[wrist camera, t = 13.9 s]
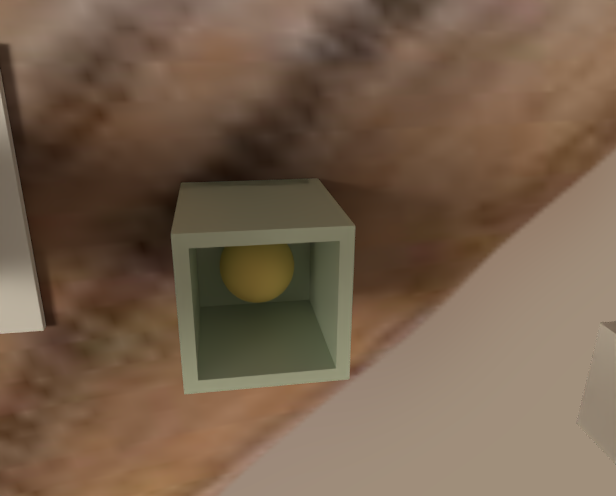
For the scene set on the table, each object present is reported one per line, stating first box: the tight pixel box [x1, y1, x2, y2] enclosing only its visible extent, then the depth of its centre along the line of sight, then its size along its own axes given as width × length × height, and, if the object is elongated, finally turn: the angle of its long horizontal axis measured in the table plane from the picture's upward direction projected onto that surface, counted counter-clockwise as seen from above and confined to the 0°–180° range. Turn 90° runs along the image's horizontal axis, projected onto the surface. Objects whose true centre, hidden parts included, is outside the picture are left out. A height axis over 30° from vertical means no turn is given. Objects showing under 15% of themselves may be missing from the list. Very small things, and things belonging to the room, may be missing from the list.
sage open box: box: [171, 178, 355, 394], centre depth 26 cm, size 7×7×8 cm
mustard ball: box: [220, 244, 294, 303], centre depth 27 cm, size 4×4×4 cm
